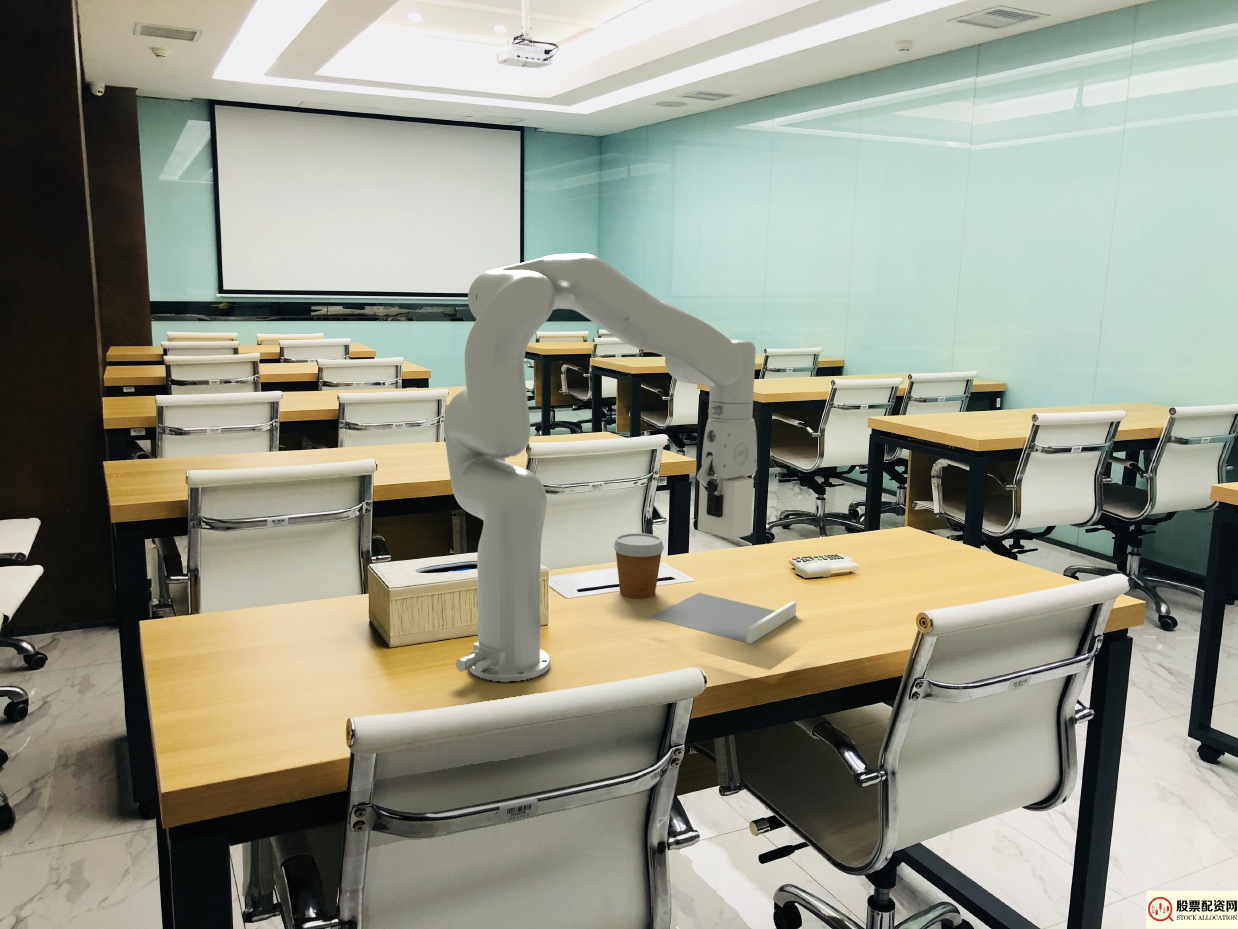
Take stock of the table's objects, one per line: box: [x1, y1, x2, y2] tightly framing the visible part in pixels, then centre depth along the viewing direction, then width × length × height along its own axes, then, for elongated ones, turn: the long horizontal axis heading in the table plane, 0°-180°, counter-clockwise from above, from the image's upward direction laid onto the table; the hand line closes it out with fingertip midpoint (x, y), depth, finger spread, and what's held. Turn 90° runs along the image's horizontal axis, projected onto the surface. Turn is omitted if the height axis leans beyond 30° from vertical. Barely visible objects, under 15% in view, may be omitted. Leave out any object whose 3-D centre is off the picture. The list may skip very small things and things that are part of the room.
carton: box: [697, 475, 755, 540], centre depth 163 cm, size 5×8×10 cm
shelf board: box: [649, 592, 797, 645], centre depth 163 cm, size 17×20×4 cm
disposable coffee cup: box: [612, 532, 665, 600], centre depth 174 cm, size 10×10×12 cm
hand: (725, 512), depth 164 cm, fingers closed on carton, 5 cm apart
